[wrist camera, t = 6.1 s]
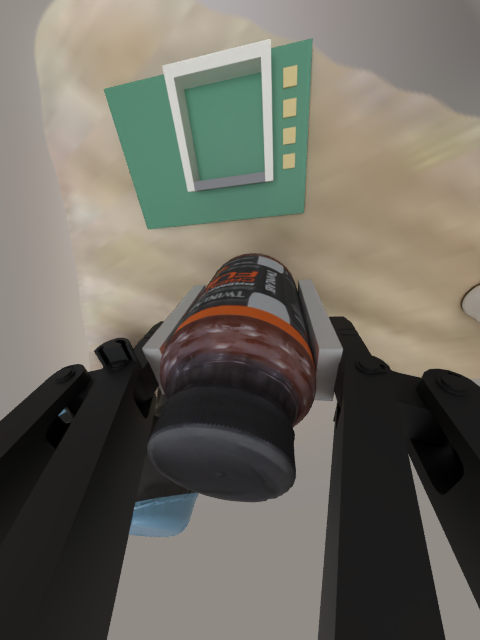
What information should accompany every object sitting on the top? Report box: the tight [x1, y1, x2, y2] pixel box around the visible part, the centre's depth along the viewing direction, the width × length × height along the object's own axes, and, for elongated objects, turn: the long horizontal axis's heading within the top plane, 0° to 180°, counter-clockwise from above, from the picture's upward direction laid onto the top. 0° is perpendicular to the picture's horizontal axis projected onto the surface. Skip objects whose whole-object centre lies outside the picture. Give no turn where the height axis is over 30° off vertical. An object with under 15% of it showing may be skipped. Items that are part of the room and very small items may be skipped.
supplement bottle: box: [147, 253, 316, 502], centre depth 10 cm, size 6×6×11 cm
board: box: [104, 39, 313, 229], centre depth 22 cm, size 20×13×4 cm, turn 96°
